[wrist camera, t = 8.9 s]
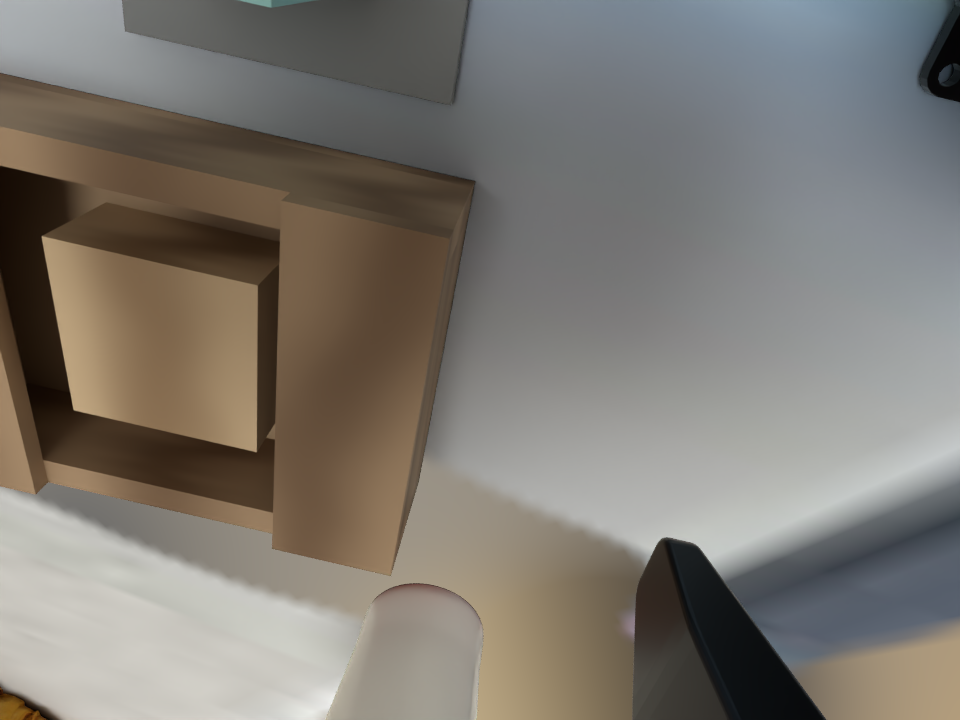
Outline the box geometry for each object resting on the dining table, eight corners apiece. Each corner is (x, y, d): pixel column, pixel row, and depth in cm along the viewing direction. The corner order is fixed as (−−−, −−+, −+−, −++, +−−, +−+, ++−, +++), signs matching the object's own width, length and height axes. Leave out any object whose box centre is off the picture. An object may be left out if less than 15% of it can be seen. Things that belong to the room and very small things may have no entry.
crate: (475, 181, 19) (449, 239, 15) (418, 481, 25) (390, 575, 22) (-61, 59, 19) (-223, 85, 15) (18, 389, 25) (-83, 467, 22)
